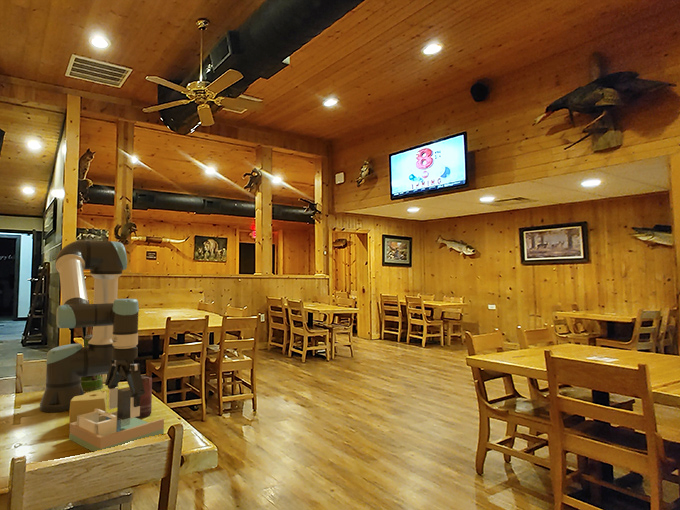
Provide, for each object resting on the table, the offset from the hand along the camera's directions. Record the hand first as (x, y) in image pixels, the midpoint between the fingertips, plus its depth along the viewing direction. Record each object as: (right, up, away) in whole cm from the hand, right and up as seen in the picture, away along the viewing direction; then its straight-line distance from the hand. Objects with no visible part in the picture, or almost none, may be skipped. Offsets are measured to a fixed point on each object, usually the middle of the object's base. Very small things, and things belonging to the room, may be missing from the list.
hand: (123, 412), depth 143 cm
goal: (-5, -5, -7) cm, 10 cm away
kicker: (0, -5, -1) cm, 5 cm away
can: (-2, -8, +19) cm, 20 cm away
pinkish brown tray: (-1, -7, -2) cm, 7 cm away
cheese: (-17, -8, +9) cm, 20 cm away
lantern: (-41, -9, +53) cm, 68 cm away
